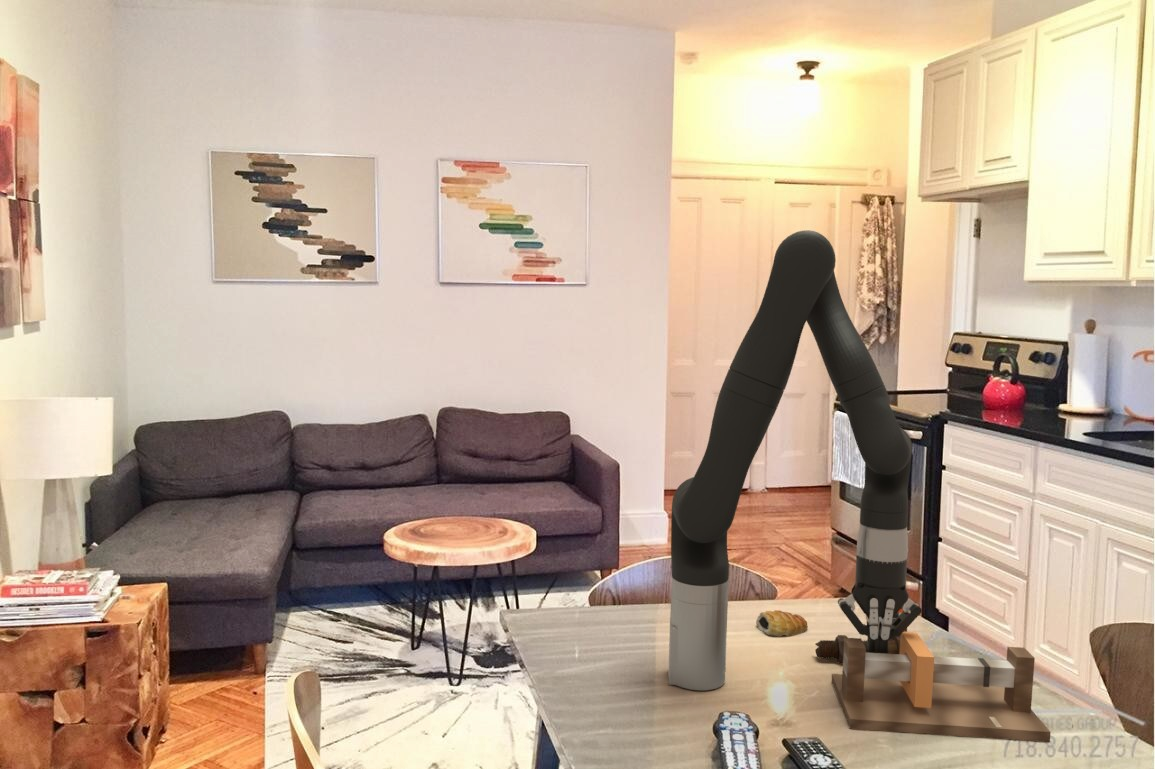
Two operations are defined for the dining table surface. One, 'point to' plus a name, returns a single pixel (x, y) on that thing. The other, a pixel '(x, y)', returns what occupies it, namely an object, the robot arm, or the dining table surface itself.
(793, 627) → the pastry
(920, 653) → the collar
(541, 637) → the dining table surface
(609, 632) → the dining table surface
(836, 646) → the bolt
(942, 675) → the pipe stand
